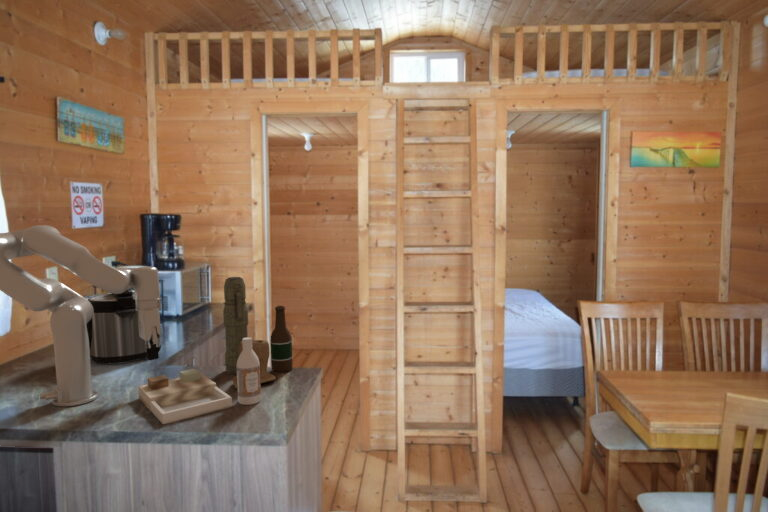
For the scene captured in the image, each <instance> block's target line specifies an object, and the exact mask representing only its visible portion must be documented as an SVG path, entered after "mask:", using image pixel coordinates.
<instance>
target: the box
mask: <svg viewBox="0 0 768 512" xmlns="http://www.w3.org/2000/svg"><path fill="white" fill-rule="evenodd" d="M213 391H214V395H211V396H207V397H203V398H198V399H194V400H190V401H185V402H181V403H177V404H173V405H168V406H164V407H160V406H159V405H158V404H157V403H156V402H155V401H150V405H151V411H150V412H151V413H152V415H153V416H155V418H157V419H158V420H157V421H159V422H160V423H161V424H162V425H166V424H171V423H176V422H178V421H182V420H186V419H190V418H191V419H192V418H194V417H198V416H202V415H206V414H209V413H214V412H218V411H222V410H225V409H230V408H233V396H231V395H229V394H228V393H226V392H225V391H223V390H222V389H221V388H219V387H218V386H216V387H213Z"/></svg>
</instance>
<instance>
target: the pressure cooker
mask: <svg viewBox="0 0 768 512" xmlns="http://www.w3.org/2000/svg"><path fill="white" fill-rule="evenodd" d="M87 300H88V301H89V302H90V303H91V304H92V306H93V309H94V313H93V317H92V318H91V320H90V321H89V322H88V323H87V324H86V325H87V332H88V337H89V348H90V360H92V361H93V362H95V363H97V364H110V365H113V364H121V363H122V364H123V363H128V362H132V361H139V360H140V361H141V360H144V359H147V350H146V348H148V347H146V341H145V340H143V339H142V338H140V337H139V328H138V311H136V304H135V293H134V291H132V290H131V289H128V290H126V291H124V292H122V293H120V294H113V293H107V294H106V293H104V294H101V295H97V296H94V297H93V296H92V297H89V298H88V299H87ZM158 311H159V312H160V308H159V309H158ZM160 315H161V314H160V313H159V318H160V319H161V316H160ZM157 341H158V353H159V352H160V351H161V348H162V337H161V338H160V339H158V338H157Z"/></svg>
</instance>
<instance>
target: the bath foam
mask: <svg viewBox="0 0 768 512" xmlns="http://www.w3.org/2000/svg"><path fill="white" fill-rule="evenodd" d="M252 340H253V338H252V337H249V336H248V337H247V338H243V339H242V345H243V351H242V352H241V354H240V356H239V358H238V360H237V374H236V376H237V388H236V390H237V403H239V404H240V405H243V406H249V405H255V404H258V403H260V401H261V399H262V392H261V390H262V388H261V387H262V386H261V384H260V363H259V359H258V357H257V355H256V354H255V352H254V351H253V350H252Z"/></svg>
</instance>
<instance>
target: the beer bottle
mask: <svg viewBox="0 0 768 512" xmlns="http://www.w3.org/2000/svg"><path fill="white" fill-rule="evenodd" d="M274 307H275V308H274V310H275V324H274V329H273V330H272V332H271V335H270V361H271V362H270V364H271V366H270V367H271V370H272V371H273V373H280V374H281V373H287V372H291V371H292V370H293V342H292V341H293V340H292V334H291V332H290V330H289V329H288V328H287V323H286V322H287V321H286V314H285V310H286V307H285V306H284V305H277V306H274Z"/></svg>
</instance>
